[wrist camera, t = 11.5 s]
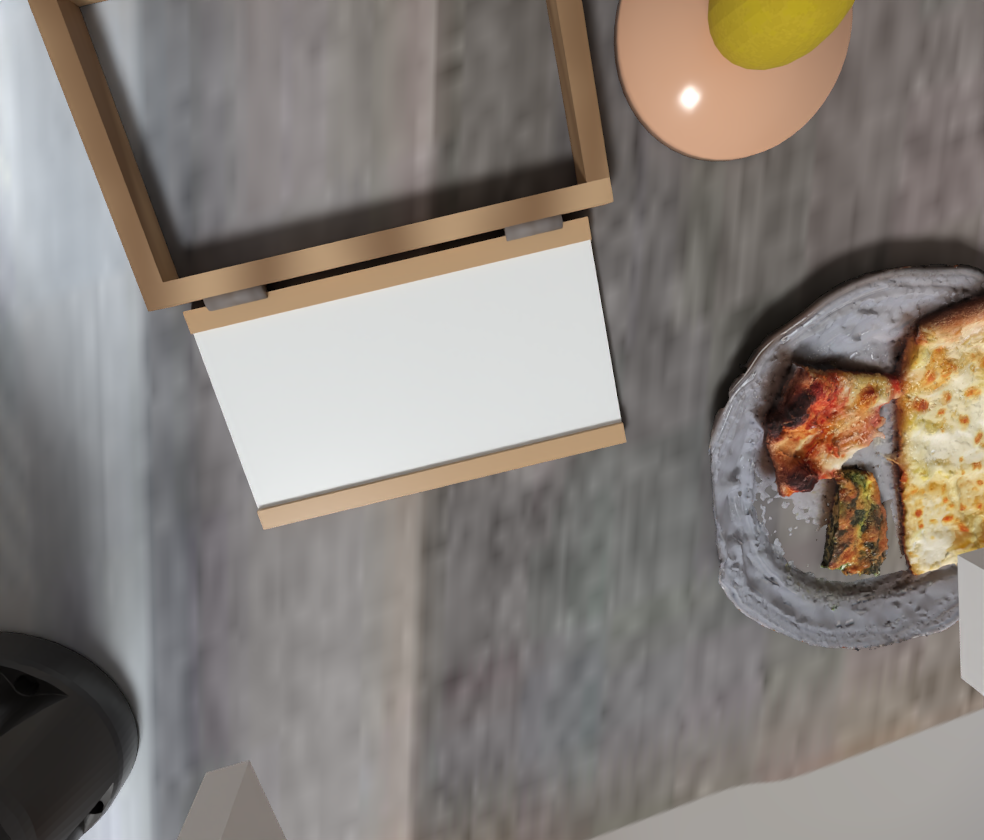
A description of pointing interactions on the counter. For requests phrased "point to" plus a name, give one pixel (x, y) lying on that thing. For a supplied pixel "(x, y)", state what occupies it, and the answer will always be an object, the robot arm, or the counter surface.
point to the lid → (414, 373)
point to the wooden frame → (247, 282)
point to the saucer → (714, 82)
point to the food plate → (859, 456)
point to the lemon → (772, 29)
